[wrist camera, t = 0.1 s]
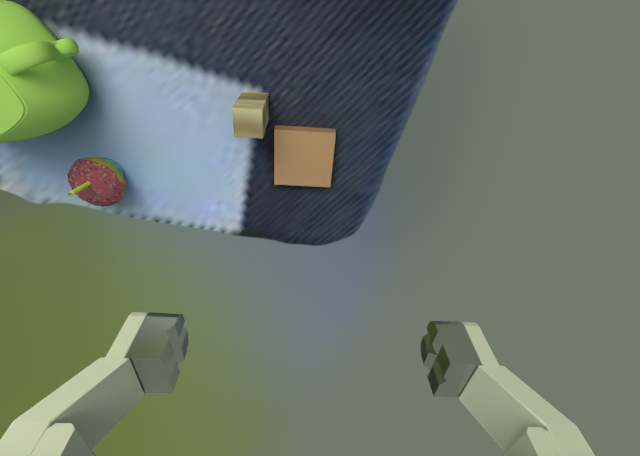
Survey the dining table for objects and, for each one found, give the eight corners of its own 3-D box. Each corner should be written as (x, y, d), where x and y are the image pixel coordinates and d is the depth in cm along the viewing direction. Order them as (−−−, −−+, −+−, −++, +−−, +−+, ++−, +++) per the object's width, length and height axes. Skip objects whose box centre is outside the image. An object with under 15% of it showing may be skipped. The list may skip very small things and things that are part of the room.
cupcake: (78, 145, 56) (30, 177, 46) (131, 151, 57) (95, 184, 47) (91, 189, 61) (50, 227, 51) (140, 194, 62) (108, 232, 52)
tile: (275, 124, 56) (274, 129, 54) (334, 127, 56) (335, 133, 54) (275, 178, 61) (274, 184, 59) (329, 180, 62) (330, 187, 60)
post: (242, 91, 52) (232, 107, 45) (268, 93, 52) (262, 109, 45) (244, 117, 54) (234, 136, 47) (268, 118, 55) (262, 138, 47)
